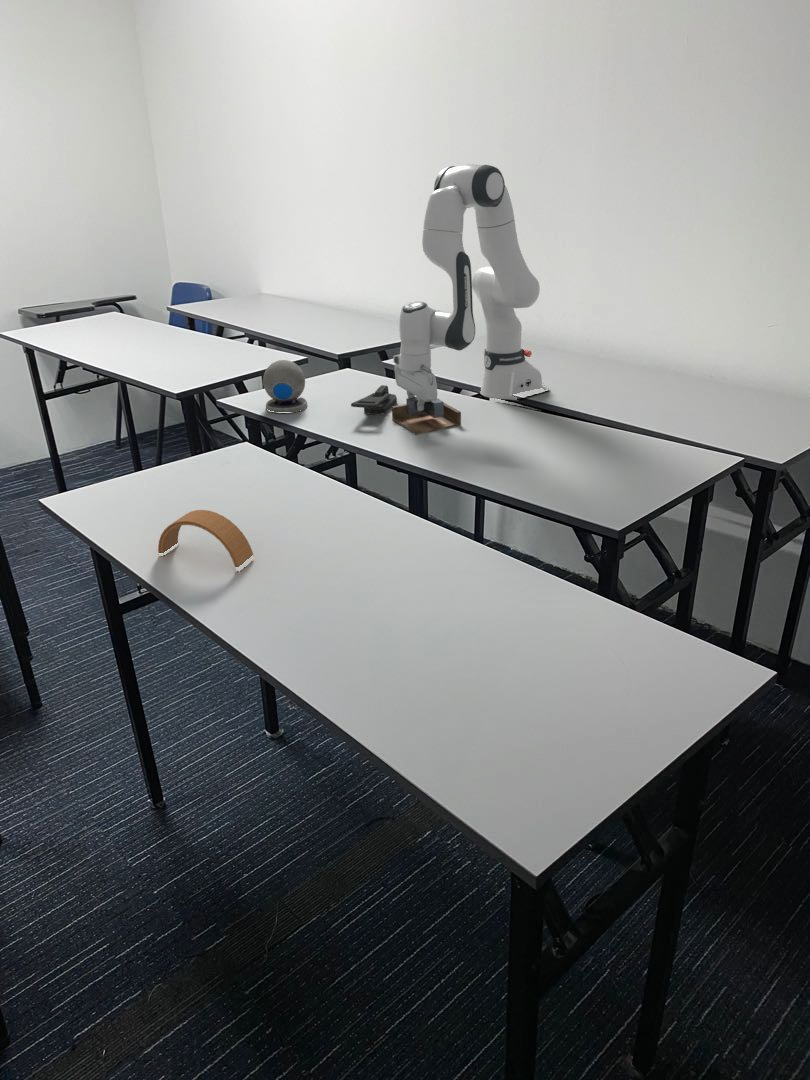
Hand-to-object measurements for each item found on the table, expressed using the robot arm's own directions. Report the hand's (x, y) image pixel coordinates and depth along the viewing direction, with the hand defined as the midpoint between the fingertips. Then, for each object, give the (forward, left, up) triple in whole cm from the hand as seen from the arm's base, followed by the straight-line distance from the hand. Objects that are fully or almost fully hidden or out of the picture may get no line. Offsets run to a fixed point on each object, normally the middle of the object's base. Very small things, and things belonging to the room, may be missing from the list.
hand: (416, 408), depth 240 cm
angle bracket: (-1, +2, -2) cm, 3 cm away
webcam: (+29, -34, -5) cm, 45 cm away
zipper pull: (+6, -15, -5) cm, 17 cm away
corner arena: (-2, +1, -4) cm, 5 cm away
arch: (+76, +52, -5) cm, 93 cm away
